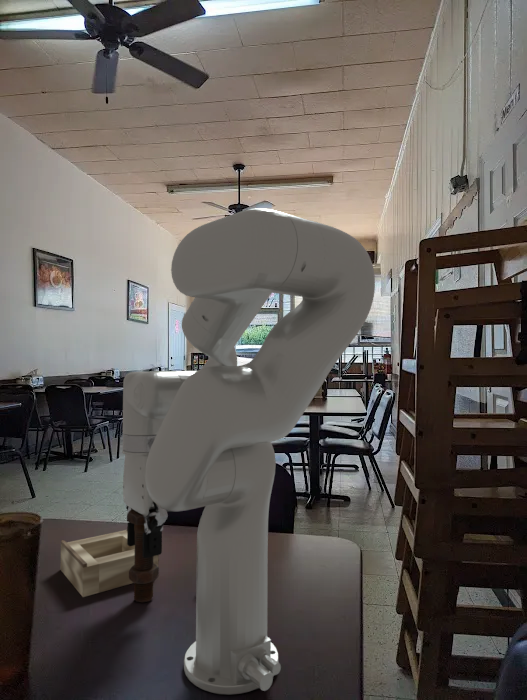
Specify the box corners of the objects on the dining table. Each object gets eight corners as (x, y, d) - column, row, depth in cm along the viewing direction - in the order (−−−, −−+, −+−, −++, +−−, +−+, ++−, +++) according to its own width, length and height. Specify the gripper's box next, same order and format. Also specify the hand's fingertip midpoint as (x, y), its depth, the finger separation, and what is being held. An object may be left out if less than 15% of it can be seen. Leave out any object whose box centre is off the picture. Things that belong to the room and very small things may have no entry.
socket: (158, 575, 92) (158, 546, 92) (82, 597, 84) (83, 564, 84) (129, 552, 103) (129, 526, 103) (60, 569, 95) (60, 540, 95)
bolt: (150, 609, 80) (151, 516, 80) (121, 606, 81) (122, 514, 81) (164, 593, 85) (165, 506, 86) (137, 590, 86) (138, 504, 87)
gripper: (188, 448, 79) (187, 560, 79) (145, 435, 93) (144, 531, 92) (145, 453, 75) (144, 572, 74) (106, 439, 88) (104, 540, 88)
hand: (144, 548), depth 83 cm, fingers closed on bolt, 5 cm apart
